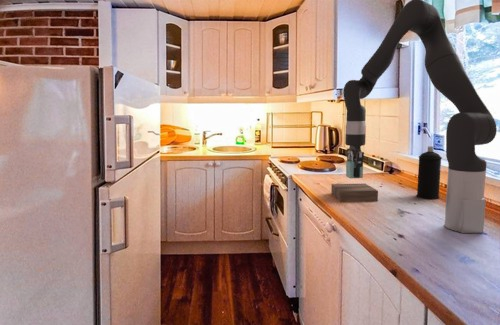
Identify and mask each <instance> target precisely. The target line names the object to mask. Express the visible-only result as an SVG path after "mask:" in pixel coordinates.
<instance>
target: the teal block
mask: <svg viewBox="0 0 500 325" xmlns="http://www.w3.org/2000/svg"><path fill="white" fill-rule="evenodd" d="M345 163H346V165H345V166H346V167H345V171H346V172H345V176H346V178H348V179H356V178H355V177H354V163H353V162H352V161H347V160H346V162H345ZM358 164H359V163H358ZM363 173H364V165H363V166H362V167H361V168H360V177H359V178H358V179H363V177H364V176H363V175H364V174H363Z"/></svg>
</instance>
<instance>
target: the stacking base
mask: <svg viewBox="0 0 500 325" xmlns="http://www.w3.org/2000/svg"><path fill="white" fill-rule="evenodd" d="M331 195H332V196H334V197H335V199H337V200H338V201H339V202H341V203H352V202H353V203H354V202H355V203H357V202H360V203H361V202H378V201H379V200H378V198H379V190H378V189H376V188H375V187H372V186H370V185H368V184H366V183H333V184H331Z"/></svg>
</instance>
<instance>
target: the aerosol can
mask: <svg viewBox="0 0 500 325" xmlns="http://www.w3.org/2000/svg"><path fill="white" fill-rule="evenodd" d="M442 159H443V157H442V156H441V155H440V154H439V153H437V152H434V146H431V145H428V146H427V151H425V152H422V153H421V154H420V155H419V156H418V169H417V170H418V171H417V173H418V174H417V175H418V176H417V190H416V191H417V192H416V195H415V196H416V197H417V198H418V199H425V200H438V199H440V184H441V182H440V181H441V166H442Z"/></svg>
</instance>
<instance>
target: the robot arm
mask: <svg viewBox="0 0 500 325" xmlns="http://www.w3.org/2000/svg"><path fill="white" fill-rule="evenodd" d="M409 31H410V32H413V33H414V34H416V35H417V36H418V37H419V39H420V41H421V44H423V47H424V50H425V54H424V55H425V56H424V67H425V70H426V72H427V75H428V78H429V80H430V82H431V85H433V87H434V88H435V89H436V90H437V91H438V92H439V93H441V95H443V96H444V98H447V100H449V102H450V103H452V104H453V105H454V106H455V108H456V109H457V110H458V112H457V113H455V114H453V115H452V116H451V117H450V119H449V120H448V122H447V126H446V132H445V133H446V134H445V135H446V136H445V137H446V138H445V142H446V143H445V156H446V160H447V162H448V163H447V164H448V167H447V170H448V171H447V179H446V180H447V182H446V183H447V184H446V197H445V214H444V215H445V216H444V227H445V228H446V229H448V230H452V231H455V232H459V233H461V234H474V233H477V234H478V233H479V234H480V233H484V228H485V226H484V225H485V213H486V201H487V200H486V199H485V190H486V189H485V188H486V186H485V185H486V177H487V176H486V175H487V174H486V173H487V161H486V160H485V159H483V158H481V157H479V156H478V155H477V154H476V146H482V145H488V144H490V143H491V142H493V141H494V139H495V138H496V136H497V129H498V128H497V124H496V120H495V118H494V116H493V114H492V113H491V111H490V110H489V109H488V107H487V106H486V104H485V103H484V102H483V100H482V98H481V97H480V95H479V94H478V92H477V91H476V89H475V88H476V87H475V86H474V84H473V83H472V80H471V79H470V77H469V74H468V73H467V71H466V70H465V69H466V68H465V67H464V64H463V63H462V60H461V58H460V56H459V55H458V54H457V51H456V49H455V47H454V46H453V43H452V42H451V40H450V39H449V37H448V35H447V32H446V30H445V28H444V24H443V22H442V18H441V15H440V13H439V11H438V8H436V7H435V6H434V5H432V4H430V3H428V2H427V1H424V0H409V1H407V3H406V4H405V5H404V6H403V7H402V9H401V10H400V11H399V13H398V15H397V16H396V18H395V20H394V21H393V23H392V25H391V26H390V28H389V30H388V31H387V33H386V35H385V36H384V38H383V40H382V42H381V43H380V45H379V46H378V48H377V49H376V50H375V52H374V53H373V54H372V56H370V58H369V59H368V61H367V62H366V63H365V64H364V65H363V67H362V69H361V71H360V73H361V77H360V79H359V80H357V79H350V80H348V81H347V82H346V83H345V84H344V87H343V99H344V100H343V101H344V104H345V108H346V122H345V123H346V124H345V133H344V134H345V141H344V142H345V143H344V144H345V146H349V148H346V161H352V162H353V163H354V177H355V178H354V179H360V178H359V177H360V168H361V167H362V166H363V167H364V158H365V157H364V156H365V152H364V151H362V148H361V147H364V146H365V145H366V133H367V126H366V125H367V124H366V116H367V115H366V114H367V111H366V107H365V106H363V105H362V103H361V100H363V99H365V98H367V97H368V96H369V95H370V94H371V92H373V89H374V88H375V86H376V84H377V81H378V80H379V79H380V78H381V76H383V74H384V73H385V71H387V70H388V69H389V67H390V66H391V64H392V63H393V61H394V56H395V54H396V51H397V47H398V45H399V43H400V42H401V40H402V39H403V38H404V37H405V35H406V34H408V33H409ZM358 163H359V164H358Z"/></svg>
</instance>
